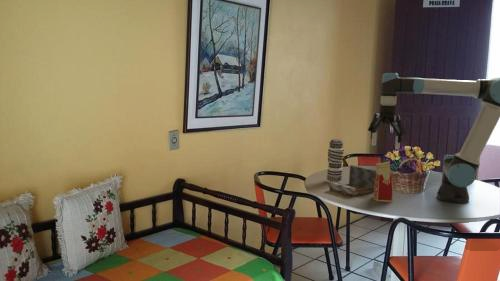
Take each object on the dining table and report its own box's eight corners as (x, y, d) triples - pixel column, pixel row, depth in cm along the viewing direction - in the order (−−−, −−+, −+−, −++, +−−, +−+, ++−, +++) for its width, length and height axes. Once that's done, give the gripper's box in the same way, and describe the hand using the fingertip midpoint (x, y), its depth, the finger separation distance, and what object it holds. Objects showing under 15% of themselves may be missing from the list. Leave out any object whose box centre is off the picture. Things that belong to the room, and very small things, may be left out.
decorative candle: (342, 184, 250) (344, 141, 246) (326, 182, 252) (328, 140, 248) (342, 180, 259) (344, 139, 255) (326, 179, 260) (328, 138, 257)
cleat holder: (374, 191, 234) (376, 170, 232) (352, 197, 222) (354, 174, 220) (351, 185, 246) (352, 165, 244) (328, 190, 234) (330, 168, 233)
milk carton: (389, 197, 224) (391, 159, 221) (393, 202, 214) (396, 162, 212) (371, 196, 224) (373, 158, 222) (374, 201, 215) (377, 162, 213)
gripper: (415, 106, 206) (412, 150, 209) (371, 103, 225) (369, 143, 228) (406, 106, 201) (403, 151, 204) (362, 103, 221) (360, 144, 224)
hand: (385, 147), depth 216 cm, fingers open, 13 cm apart
